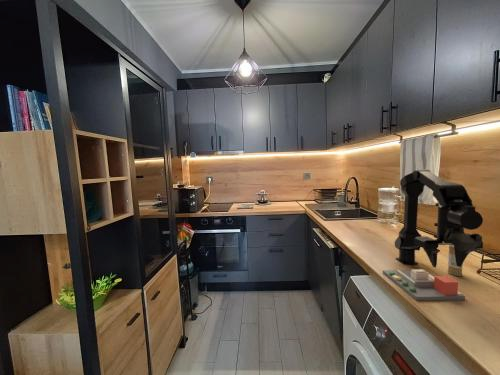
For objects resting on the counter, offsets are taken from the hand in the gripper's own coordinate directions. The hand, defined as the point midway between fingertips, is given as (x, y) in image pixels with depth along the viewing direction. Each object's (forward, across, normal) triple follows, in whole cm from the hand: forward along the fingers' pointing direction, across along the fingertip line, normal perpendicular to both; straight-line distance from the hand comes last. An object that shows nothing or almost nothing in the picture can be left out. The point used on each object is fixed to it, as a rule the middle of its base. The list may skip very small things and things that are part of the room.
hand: (446, 266), depth 79 cm
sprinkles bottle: (+10, +16, +15) cm, 24 cm away
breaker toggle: (+9, -4, +7) cm, 12 cm away
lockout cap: (+9, 0, 0) cm, 9 cm away
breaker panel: (+10, -4, +7) cm, 13 cm away
